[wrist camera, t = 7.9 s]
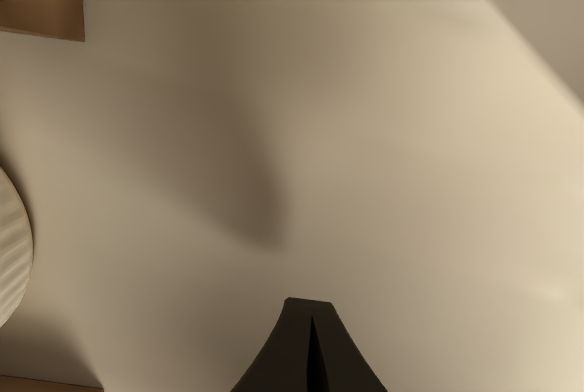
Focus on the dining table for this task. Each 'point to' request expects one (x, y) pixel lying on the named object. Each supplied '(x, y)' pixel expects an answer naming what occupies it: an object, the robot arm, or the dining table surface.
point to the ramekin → (13, 248)
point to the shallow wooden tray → (55, 24)
